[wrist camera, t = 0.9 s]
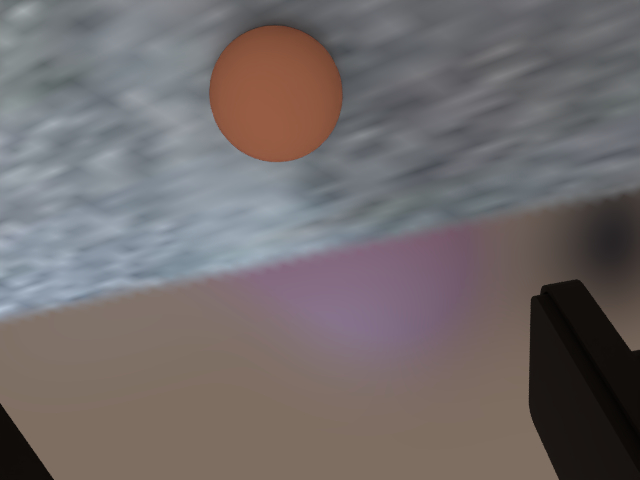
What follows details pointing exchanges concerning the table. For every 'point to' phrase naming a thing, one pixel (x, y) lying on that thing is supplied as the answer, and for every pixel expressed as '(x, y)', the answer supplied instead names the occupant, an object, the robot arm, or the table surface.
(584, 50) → the table surface
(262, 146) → the ball
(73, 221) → the table surface
